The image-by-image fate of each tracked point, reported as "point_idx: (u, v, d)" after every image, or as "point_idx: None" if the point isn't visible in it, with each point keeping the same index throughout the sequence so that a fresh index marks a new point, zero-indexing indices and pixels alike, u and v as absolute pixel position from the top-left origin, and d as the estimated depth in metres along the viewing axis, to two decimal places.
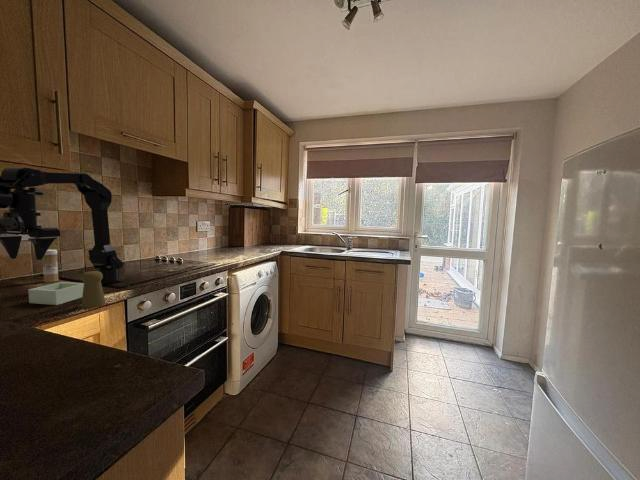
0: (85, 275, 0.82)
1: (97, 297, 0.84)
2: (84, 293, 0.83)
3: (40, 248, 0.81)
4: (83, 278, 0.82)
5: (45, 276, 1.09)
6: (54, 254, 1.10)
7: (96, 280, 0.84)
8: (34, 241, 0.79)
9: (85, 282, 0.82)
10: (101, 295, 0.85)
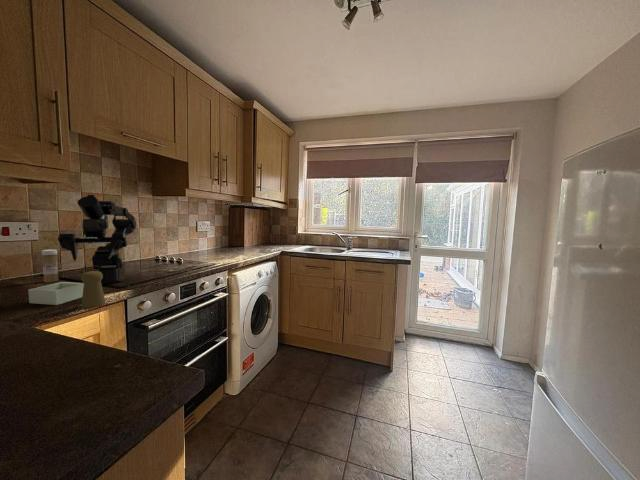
0: (85, 275, 0.82)
1: (97, 297, 0.84)
2: (84, 293, 0.83)
3: (113, 249, 0.97)
4: (83, 278, 0.82)
5: (45, 276, 1.09)
6: (54, 254, 1.10)
7: (96, 280, 0.84)
8: (115, 241, 0.98)
9: (85, 282, 0.82)
10: (101, 295, 0.85)
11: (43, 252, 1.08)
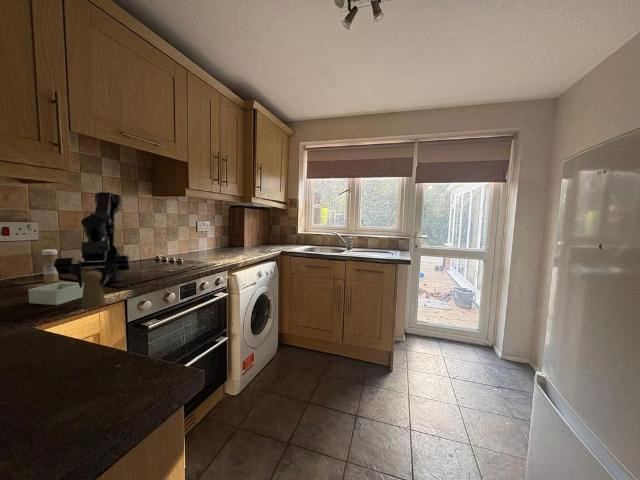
0: (85, 275, 0.82)
1: (97, 297, 0.84)
2: (84, 293, 0.83)
3: (108, 274, 0.87)
4: (83, 278, 0.82)
5: (45, 276, 1.09)
6: (54, 254, 1.10)
7: (96, 280, 0.84)
8: (110, 265, 0.88)
9: (85, 282, 0.82)
10: (101, 295, 0.85)
11: (43, 252, 1.08)
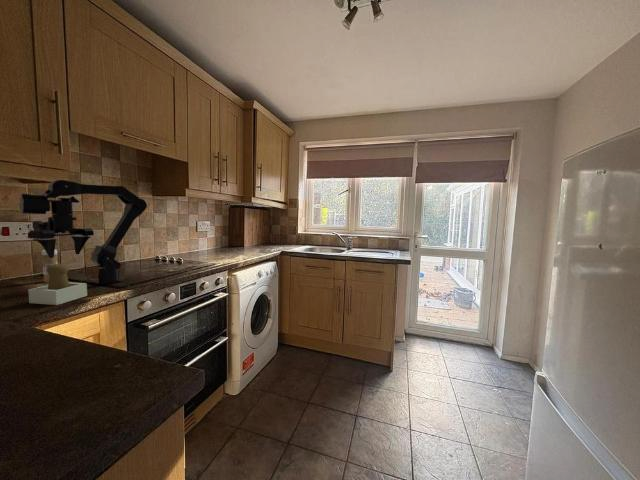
0: (48, 267, 0.87)
1: None
2: None
3: (45, 248, 0.94)
4: (47, 270, 0.87)
5: (45, 276, 1.09)
6: (54, 254, 1.10)
7: (56, 273, 0.87)
8: None
9: None
10: (62, 288, 0.89)
11: (43, 252, 1.08)
